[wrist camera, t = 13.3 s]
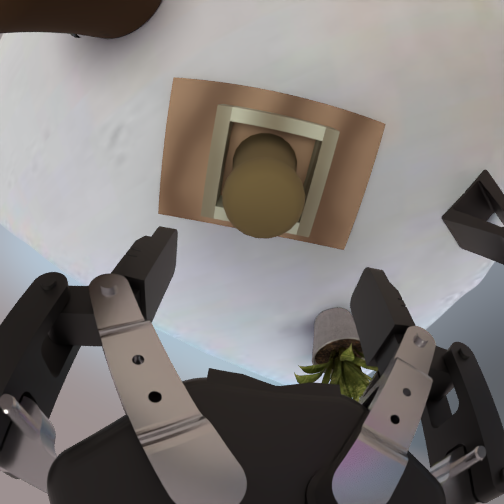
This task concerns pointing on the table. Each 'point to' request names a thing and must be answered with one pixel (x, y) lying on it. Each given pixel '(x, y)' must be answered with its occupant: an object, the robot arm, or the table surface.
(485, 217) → the phone stand
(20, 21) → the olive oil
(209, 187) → the socket board
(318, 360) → the house plant
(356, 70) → the table surface
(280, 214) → the cork
